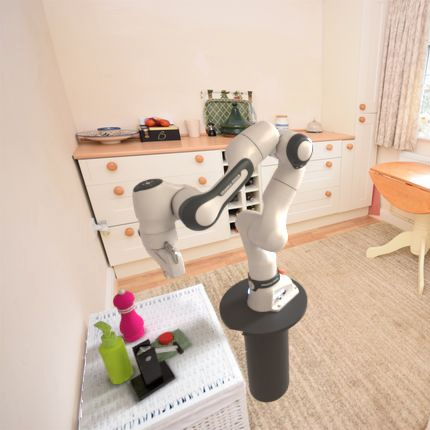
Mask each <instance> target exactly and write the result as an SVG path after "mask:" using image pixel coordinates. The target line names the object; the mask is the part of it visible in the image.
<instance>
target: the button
mask: <svg viewBox="0 0 430 430" xmlns="http://www.w3.org/2000/svg"><path fill="white" fill-rule="evenodd" d="M159 335H160V336H159ZM159 335H158V336H159V341H160V344H161V345H166V344H169V343H171V342H172V340H173V335H172V333H171V332H170V331H165V332H163V333H161V334H159Z"/></svg>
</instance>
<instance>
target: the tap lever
mask: <svg viewBox="0 0 430 430" xmlns="http://www.w3.org/2000/svg"><path fill="white" fill-rule="evenodd" d="M150 348H151V347H150V346H145V347H140V348H139V350H138V353H137V355H139V354H141V353H143V352H145V351H147V350H148V349H150ZM176 350H177V351H178V352H177V353H178V354H179V355H183V354H184V352H185V350H184V349H182V348H181V346H180V345H179V344H178V342H177V341H175V342H173V346H169V347H162V348H155V351H156V353H162V352H169V351H176Z"/></svg>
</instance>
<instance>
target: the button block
mask: <svg viewBox="0 0 430 430" xmlns="http://www.w3.org/2000/svg"><path fill="white" fill-rule="evenodd" d="M169 332H171V333H172V335H173V340H172V342H171V343H169V344H166V345H161V344H160V341H159V336H160V335H161V334H159V335H158V336H157V337H156V338H155V339H154V341H152V342H150V343H151V347H154V348H162V347H169V346H173V342H175V341H177V342H178V344H179V345H180V346H181V348H182V349H183V350H184V349H186V348H188V347H189V346H191V345H190V341H189V339H188V338H187V336H186V335H185V334H184V333H183V331H182V330H181V329H180V328H176V329H174V330H172V331H171V330H169ZM177 353H178V351H177V350H176V351H169V352H162V353H156V354H157V358H158V361H159V363H160V362H162V361H163V360H165V361H166V360H168V359H169V358H171V357H173V356H174V355H176V354H177Z"/></svg>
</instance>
